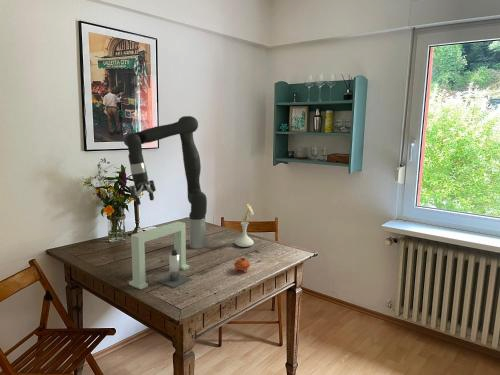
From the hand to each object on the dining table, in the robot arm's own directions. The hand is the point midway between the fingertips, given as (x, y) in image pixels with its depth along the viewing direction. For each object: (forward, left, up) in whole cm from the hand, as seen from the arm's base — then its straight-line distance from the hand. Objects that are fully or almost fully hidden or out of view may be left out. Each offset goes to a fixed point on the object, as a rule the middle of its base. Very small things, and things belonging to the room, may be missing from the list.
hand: (145, 202), depth 188 cm
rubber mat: (-6, +35, -30) cm, 46 cm away
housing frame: (-2, +27, -30) cm, 40 cm away
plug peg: (-6, +35, -29) cm, 46 cm away
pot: (-40, +36, -30) cm, 62 cm away
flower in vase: (-57, +2, -30) cm, 64 cm away
